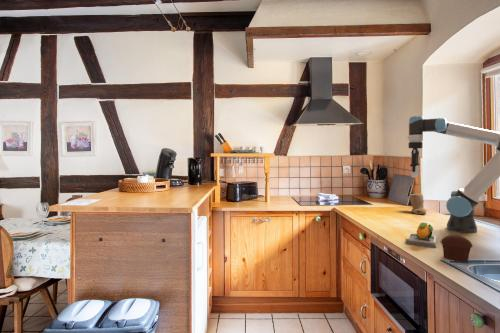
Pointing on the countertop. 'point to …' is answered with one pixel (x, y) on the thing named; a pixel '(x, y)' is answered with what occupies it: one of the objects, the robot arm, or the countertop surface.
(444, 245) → the muffin
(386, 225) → the countertop surface
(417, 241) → the board
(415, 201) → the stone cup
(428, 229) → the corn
